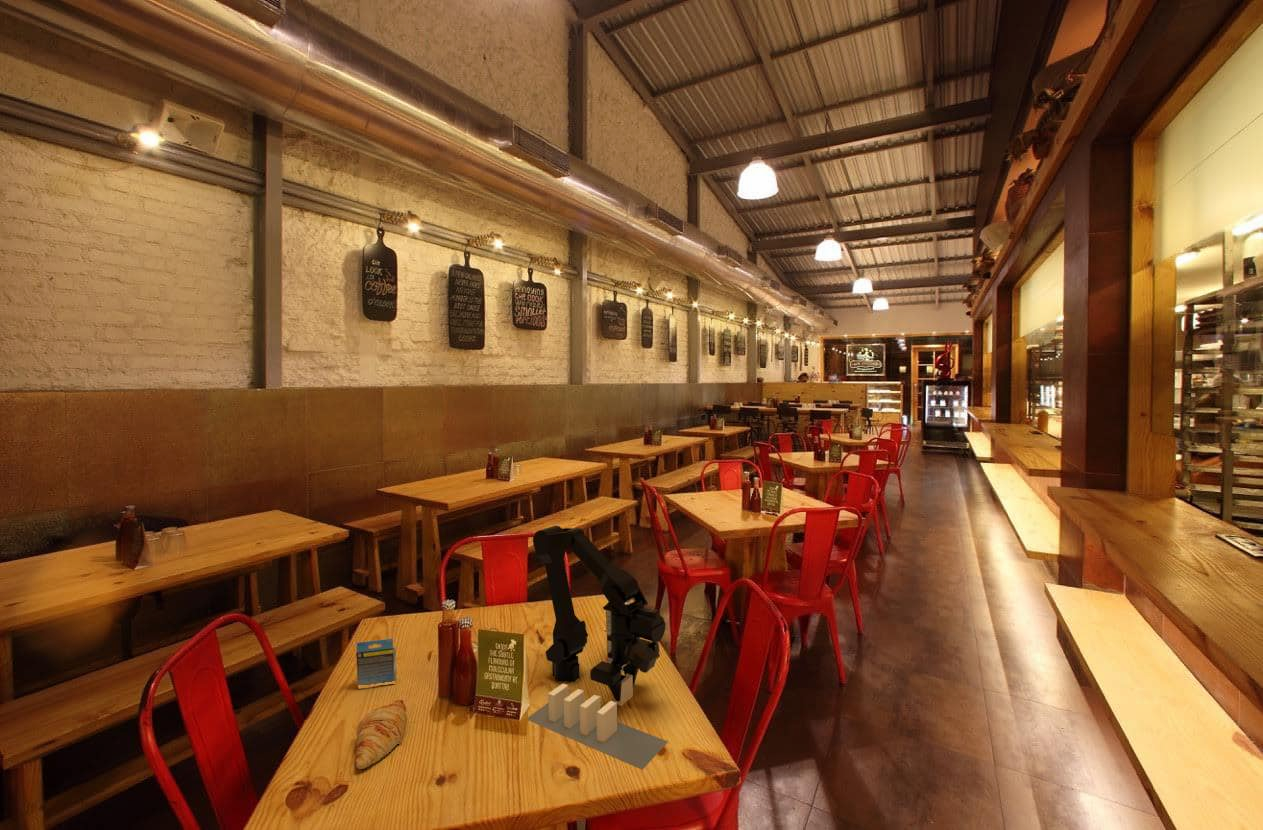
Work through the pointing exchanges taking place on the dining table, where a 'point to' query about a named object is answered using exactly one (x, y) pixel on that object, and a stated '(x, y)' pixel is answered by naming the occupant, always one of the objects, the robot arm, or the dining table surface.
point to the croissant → (380, 733)
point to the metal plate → (620, 745)
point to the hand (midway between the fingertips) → (624, 695)
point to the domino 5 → (626, 689)
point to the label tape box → (376, 662)
